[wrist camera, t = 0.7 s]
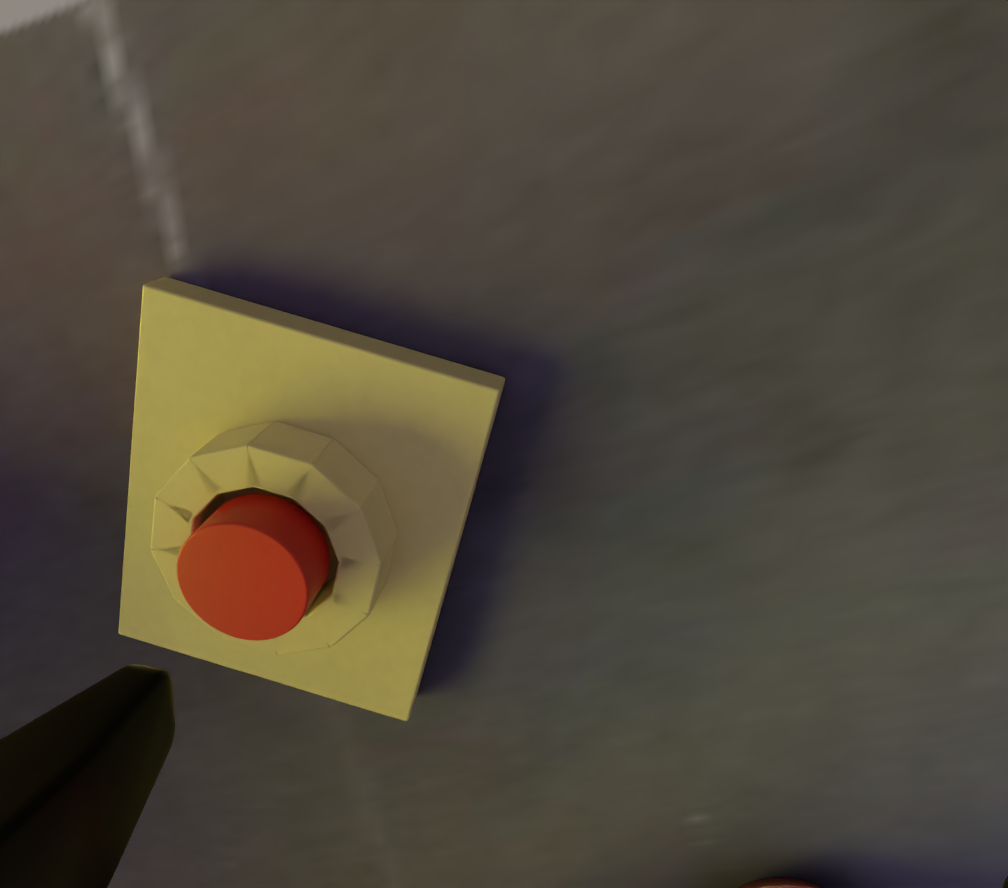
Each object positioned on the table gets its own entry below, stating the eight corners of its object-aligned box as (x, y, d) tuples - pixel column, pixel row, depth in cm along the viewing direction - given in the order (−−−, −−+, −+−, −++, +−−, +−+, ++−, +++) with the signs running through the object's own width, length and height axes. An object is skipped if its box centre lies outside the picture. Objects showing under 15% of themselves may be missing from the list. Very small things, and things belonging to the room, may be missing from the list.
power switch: (416, 697, 27) (393, 764, 24) (137, 613, 27) (83, 669, 24) (506, 376, 22) (491, 414, 19) (165, 275, 22) (100, 298, 19)
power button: (320, 619, 23) (297, 657, 21) (201, 583, 23) (169, 618, 21) (341, 514, 21) (318, 547, 19) (214, 476, 21) (181, 505, 20)
